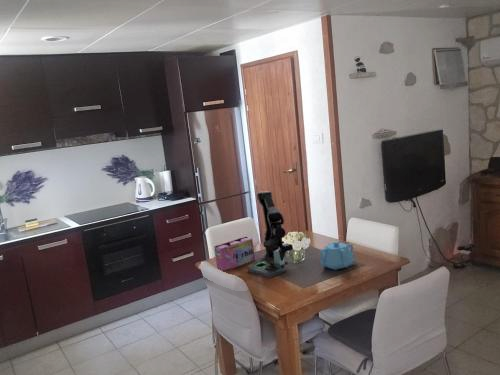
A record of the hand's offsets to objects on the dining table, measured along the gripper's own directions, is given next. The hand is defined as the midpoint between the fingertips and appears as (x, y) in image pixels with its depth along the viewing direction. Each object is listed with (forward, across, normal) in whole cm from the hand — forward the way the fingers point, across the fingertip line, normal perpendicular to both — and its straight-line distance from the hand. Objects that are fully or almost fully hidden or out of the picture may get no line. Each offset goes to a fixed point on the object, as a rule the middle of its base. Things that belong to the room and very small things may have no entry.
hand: (279, 259), depth 251 cm
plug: (+2, 0, 0) cm, 2 cm away
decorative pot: (+3, +30, +15) cm, 34 cm away
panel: (+2, +2, -12) cm, 12 cm away
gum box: (+3, -23, -14) cm, 27 cm away
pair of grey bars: (+2, 0, 0) cm, 2 cm away
